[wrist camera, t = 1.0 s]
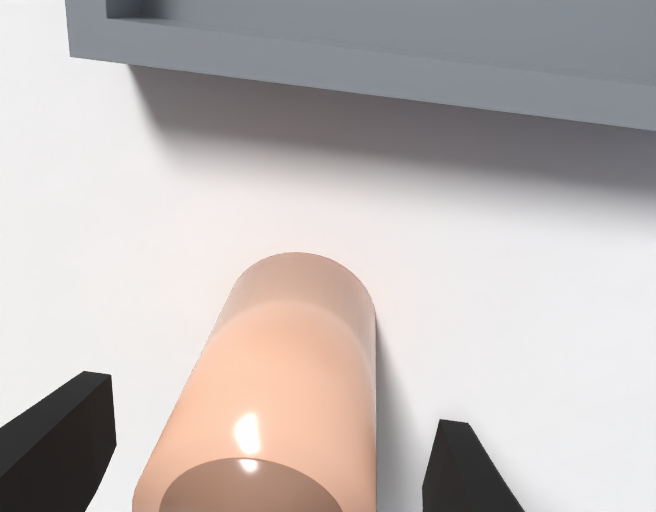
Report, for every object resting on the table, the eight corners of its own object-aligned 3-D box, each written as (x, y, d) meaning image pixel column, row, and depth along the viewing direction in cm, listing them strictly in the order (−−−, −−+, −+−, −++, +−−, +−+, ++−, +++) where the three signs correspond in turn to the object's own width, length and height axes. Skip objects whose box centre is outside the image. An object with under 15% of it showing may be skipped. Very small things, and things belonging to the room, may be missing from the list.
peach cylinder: (386, 263, 15) (396, 457, 9) (364, 389, 17) (358, 623, 11) (229, 242, 15) (124, 419, 9) (225, 370, 17) (136, 591, 11)
